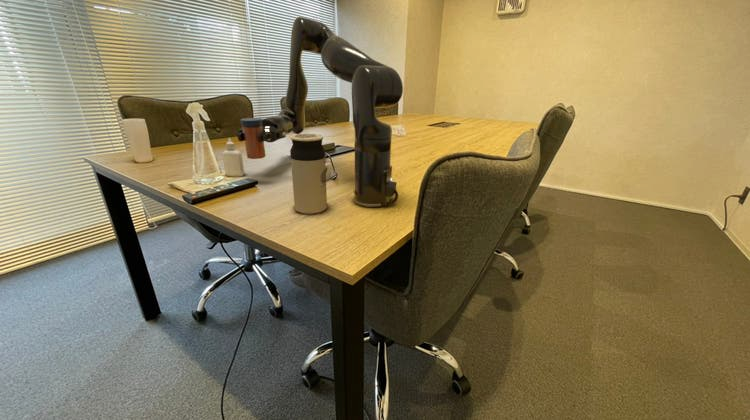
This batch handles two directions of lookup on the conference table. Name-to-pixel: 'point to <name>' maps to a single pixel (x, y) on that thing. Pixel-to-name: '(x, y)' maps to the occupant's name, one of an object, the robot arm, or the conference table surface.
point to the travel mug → (308, 173)
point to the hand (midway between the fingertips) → (249, 138)
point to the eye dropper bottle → (232, 160)
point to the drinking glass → (138, 139)
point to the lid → (251, 122)
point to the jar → (253, 142)
